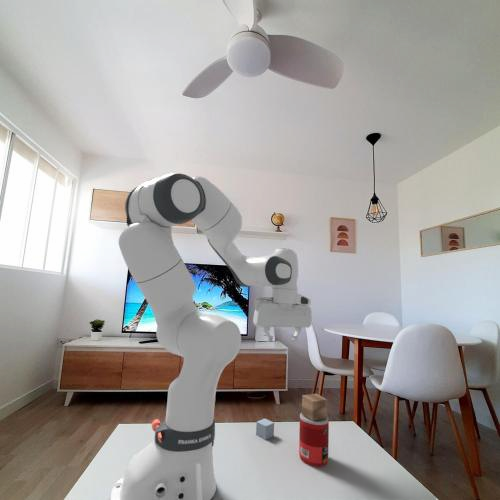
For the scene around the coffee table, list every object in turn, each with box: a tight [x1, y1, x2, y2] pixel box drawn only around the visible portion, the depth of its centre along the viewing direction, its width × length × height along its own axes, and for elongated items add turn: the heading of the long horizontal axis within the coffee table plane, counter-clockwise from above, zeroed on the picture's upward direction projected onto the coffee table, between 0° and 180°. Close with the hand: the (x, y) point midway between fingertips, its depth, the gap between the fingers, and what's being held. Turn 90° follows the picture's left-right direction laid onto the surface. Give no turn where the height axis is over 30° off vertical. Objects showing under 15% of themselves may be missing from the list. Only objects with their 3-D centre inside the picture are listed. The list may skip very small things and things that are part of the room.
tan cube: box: [301, 393, 328, 421], centre depth 81 cm, size 5×5×5 cm
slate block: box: [255, 418, 275, 441], centre depth 90 cm, size 4×4×4 cm
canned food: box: [298, 412, 330, 467], centre depth 79 cm, size 8×8×11 cm
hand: (282, 341), depth 91 cm, fingers open, 8 cm apart
